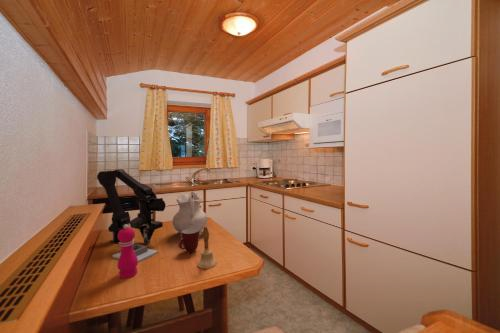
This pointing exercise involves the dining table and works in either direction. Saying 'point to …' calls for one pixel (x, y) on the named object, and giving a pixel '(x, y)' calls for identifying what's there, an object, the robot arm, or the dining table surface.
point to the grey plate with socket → (139, 252)
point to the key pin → (145, 236)
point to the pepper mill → (127, 253)
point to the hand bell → (206, 253)
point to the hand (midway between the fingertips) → (146, 239)
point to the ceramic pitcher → (189, 213)
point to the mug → (189, 239)
